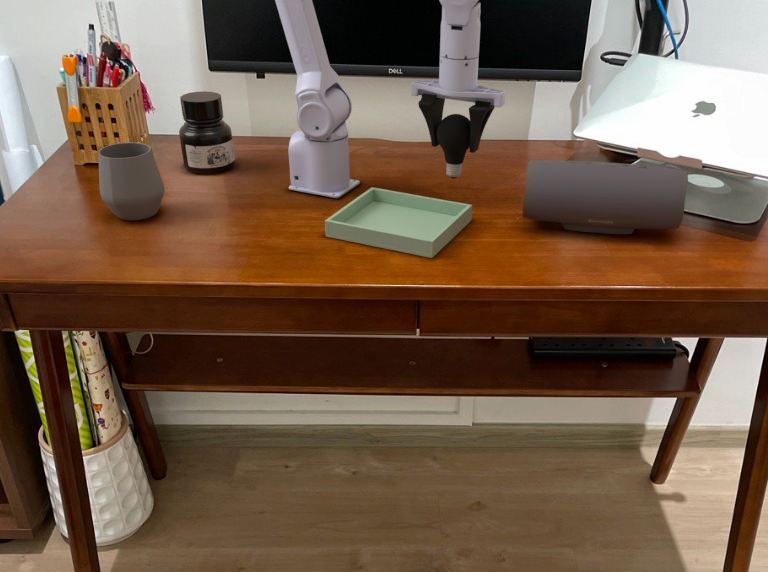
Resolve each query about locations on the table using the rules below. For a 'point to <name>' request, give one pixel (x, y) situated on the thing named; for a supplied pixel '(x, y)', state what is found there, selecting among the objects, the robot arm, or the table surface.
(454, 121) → the light bulb
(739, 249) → the table surface
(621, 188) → the bluetooth speaker
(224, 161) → the ink bottle
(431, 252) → the tray
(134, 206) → the cup
